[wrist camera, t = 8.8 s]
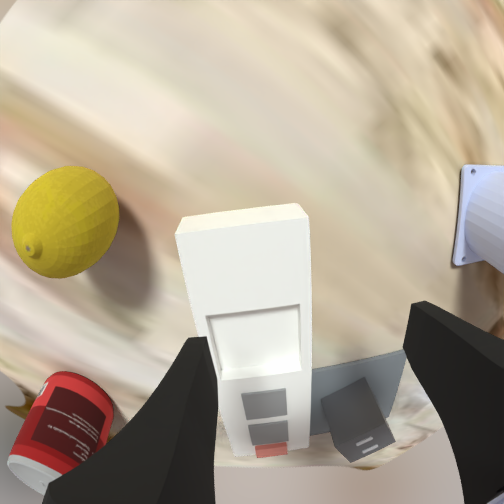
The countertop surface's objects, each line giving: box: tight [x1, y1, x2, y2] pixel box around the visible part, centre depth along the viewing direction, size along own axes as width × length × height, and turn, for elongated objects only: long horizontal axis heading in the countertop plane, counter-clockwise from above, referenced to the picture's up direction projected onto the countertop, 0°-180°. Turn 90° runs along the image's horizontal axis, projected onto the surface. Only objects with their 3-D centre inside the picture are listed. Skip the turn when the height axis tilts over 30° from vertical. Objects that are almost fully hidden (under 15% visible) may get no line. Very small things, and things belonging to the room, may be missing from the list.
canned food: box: [7, 371, 113, 495], centre depth 20 cm, size 8×8×11 cm
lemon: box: [12, 166, 119, 278], centre depth 14 cm, size 6×6×8 cm
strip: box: [175, 203, 312, 458], centre depth 22 cm, size 25×7×4 cm, turn 6°
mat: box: [310, 350, 407, 436], centre depth 26 cm, size 10×10×1 cm
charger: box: [321, 377, 396, 463], centre depth 24 cm, size 4×4×6 cm
